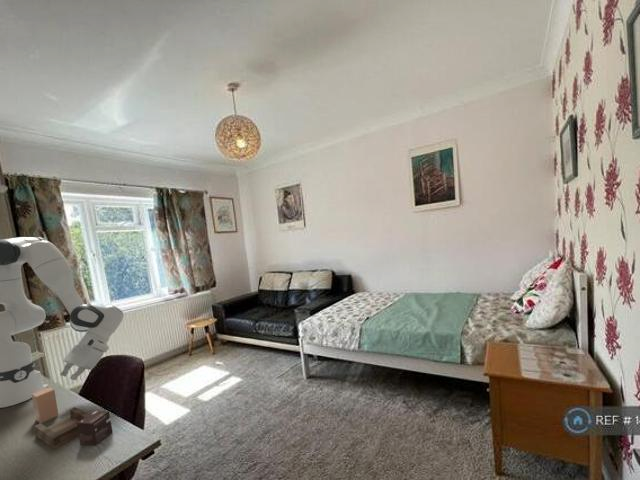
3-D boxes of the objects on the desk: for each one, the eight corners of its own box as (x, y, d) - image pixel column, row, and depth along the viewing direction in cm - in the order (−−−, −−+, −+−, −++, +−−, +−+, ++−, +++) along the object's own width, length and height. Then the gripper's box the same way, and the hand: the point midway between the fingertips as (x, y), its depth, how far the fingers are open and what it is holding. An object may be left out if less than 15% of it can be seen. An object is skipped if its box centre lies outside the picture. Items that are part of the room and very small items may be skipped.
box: (95, 446, 89) (91, 423, 89) (79, 445, 90) (76, 423, 90) (113, 432, 95) (109, 410, 95) (98, 432, 96) (94, 410, 96)
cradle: (36, 436, 98) (34, 426, 98) (76, 416, 108) (74, 406, 107) (54, 449, 90) (53, 438, 90) (96, 426, 99) (94, 416, 99)
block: (35, 420, 108) (31, 394, 108) (53, 412, 112) (49, 387, 112) (40, 423, 106) (36, 396, 105) (58, 415, 110) (54, 389, 109)
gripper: (74, 338, 126) (48, 371, 118) (96, 342, 116) (70, 379, 108) (88, 344, 130) (64, 376, 122) (110, 348, 120) (86, 384, 112)
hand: (67, 377), depth 115 cm, fingers open, 8 cm apart
